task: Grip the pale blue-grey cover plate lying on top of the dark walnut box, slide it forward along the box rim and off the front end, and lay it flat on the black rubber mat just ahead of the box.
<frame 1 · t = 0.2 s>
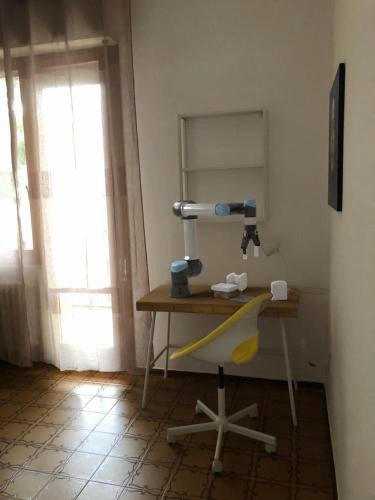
hand: (251, 257, 259), 27 cm above the table, tool pointing down, fingers open, 13 cm apart
walnut box: (225, 296, 275), on the table
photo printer: (279, 299, 262), on the table
rubber mat: (245, 299, 265), on the table
cover plate: (224, 289, 274), point 5 cm above the table, touching walnut box
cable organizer: (236, 290, 294), on the table
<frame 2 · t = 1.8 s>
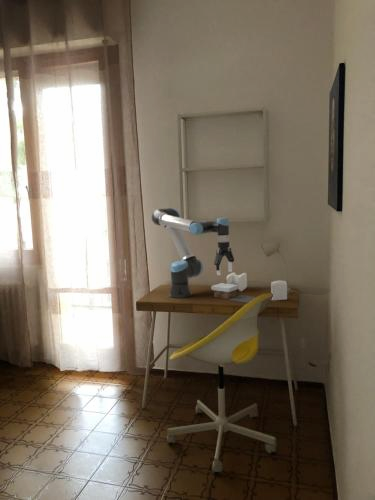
hand: (224, 273, 273), 16 cm above the table, tool pointing down, fingers open, 13 cm apart
nothing on the table moved.
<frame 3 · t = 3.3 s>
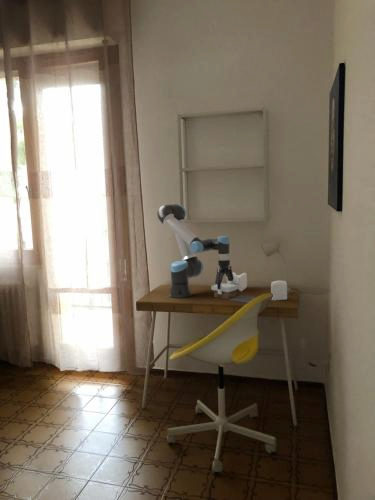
hand: (224, 292, 275), 3 cm above the table, tool pointing down, fingers closed on cover plate, 11 cm apart
cover plate: (224, 289, 274), point 5 cm above the table, touching gripper, walnut box
everything else where it was.
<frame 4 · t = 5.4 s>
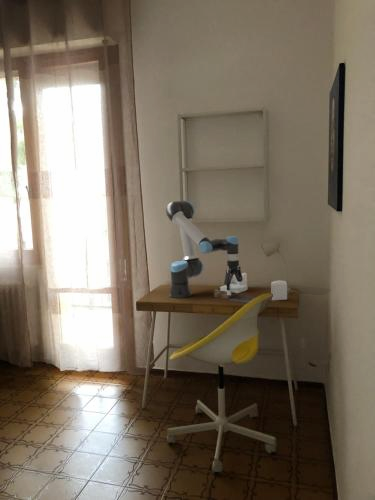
hand: (234, 293, 270), 3 cm above the table, tool pointing down, fingers closed on cover plate, 11 cm apart
cover plate: (233, 290, 270), point 5 cm above the table, touching gripper
everything else where it was.
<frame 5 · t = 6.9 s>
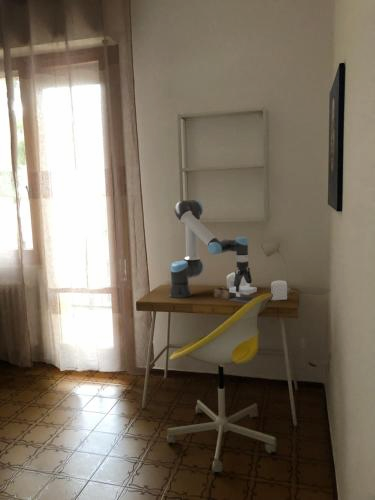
hand: (243, 294, 266), 3 cm above the table, tool pointing down, fingers closed on cover plate, 11 cm apart
cover plate: (243, 291, 266), point 5 cm above the table, touching gripper
everything else where it was.
when the fingers open (2 cm above the table, at t = 7.9 s): cover plate drops 4 cm, resting on rubber mat.
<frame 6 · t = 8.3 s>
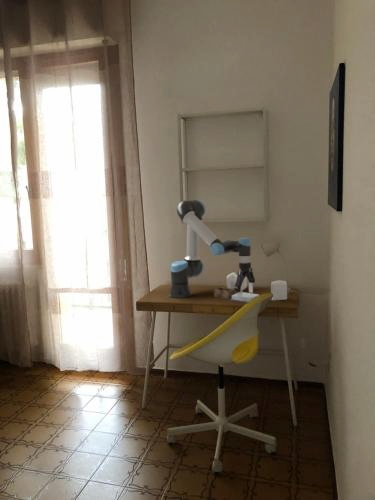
hand: (245, 294, 265), 3 cm above the table, tool pointing down, fingers open, 13 cm apart
cover plate: (245, 298, 265), point 1 cm above the table, touching rubber mat
everything else where it was.
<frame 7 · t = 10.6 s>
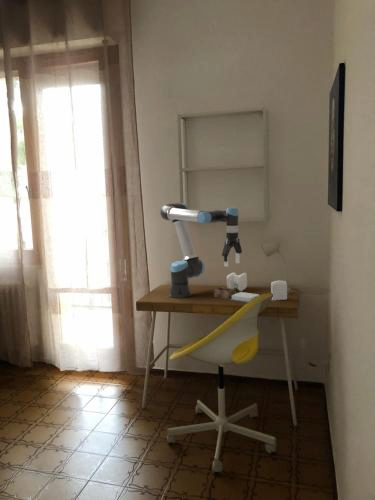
hand: (232, 264, 266), 22 cm above the table, tool pointing down, fingers open, 13 cm apart
nothing on the table moved.
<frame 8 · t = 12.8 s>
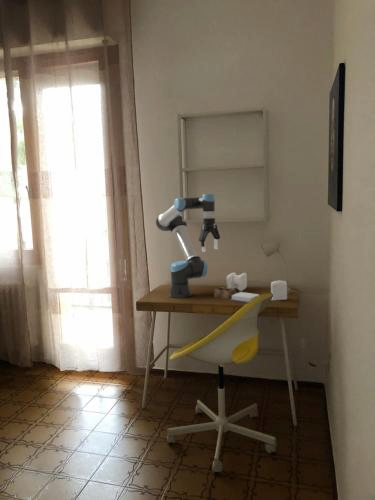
hand: (210, 250, 269), 32 cm above the table, tool pointing down, fingers open, 13 cm apart
nothing on the table moved.
at the end: cover plate inside the target area (0.1 cm from its centre), point 0.6 cm above the table; cover plate tilted 0°; the gripper is holding nothing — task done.
